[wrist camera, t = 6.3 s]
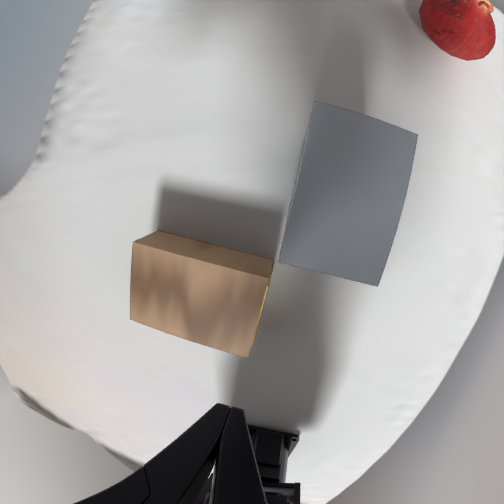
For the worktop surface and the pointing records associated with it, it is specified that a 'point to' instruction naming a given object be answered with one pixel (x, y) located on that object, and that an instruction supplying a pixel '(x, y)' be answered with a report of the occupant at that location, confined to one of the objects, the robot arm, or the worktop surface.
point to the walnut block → (198, 290)
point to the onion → (459, 26)
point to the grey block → (348, 194)
